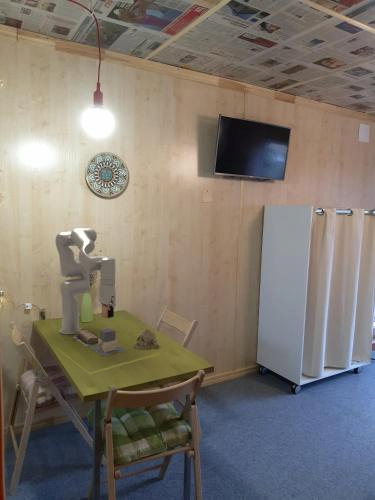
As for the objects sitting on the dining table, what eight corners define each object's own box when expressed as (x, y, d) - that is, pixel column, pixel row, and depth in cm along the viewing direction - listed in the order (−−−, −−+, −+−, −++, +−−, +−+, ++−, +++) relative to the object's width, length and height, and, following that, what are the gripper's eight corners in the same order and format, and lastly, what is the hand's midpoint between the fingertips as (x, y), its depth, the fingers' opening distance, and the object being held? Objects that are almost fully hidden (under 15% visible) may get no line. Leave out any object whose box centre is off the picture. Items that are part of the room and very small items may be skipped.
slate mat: (88, 348, 201) (88, 347, 201) (111, 343, 210) (111, 341, 210) (102, 358, 189) (102, 356, 189) (126, 352, 198) (126, 350, 198)
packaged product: (72, 331, 215) (89, 328, 222) (72, 339, 216) (89, 336, 222) (85, 340, 201) (102, 336, 207) (85, 348, 202) (102, 345, 208)
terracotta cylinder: (100, 316, 197) (100, 304, 197) (109, 314, 201) (109, 303, 200) (105, 318, 193) (105, 307, 193) (115, 316, 197) (115, 305, 196)
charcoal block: (99, 339, 199) (99, 329, 198) (109, 336, 203) (109, 327, 202) (105, 342, 195) (105, 333, 194) (115, 340, 198) (115, 330, 198)
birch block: (98, 348, 200) (98, 339, 199) (110, 345, 204) (110, 336, 204) (104, 352, 194) (104, 342, 194) (116, 349, 199) (116, 340, 198)
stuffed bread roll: (145, 341, 215) (145, 324, 214) (161, 345, 210) (162, 327, 209) (129, 348, 203) (130, 330, 202) (146, 353, 198) (147, 334, 196)
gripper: (93, 279, 199) (93, 313, 201) (109, 285, 186) (109, 321, 188) (106, 278, 204) (106, 311, 206) (122, 283, 191) (122, 318, 193)
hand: (107, 315), depth 197 cm, fingers closed on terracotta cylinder, 5 cm apart
